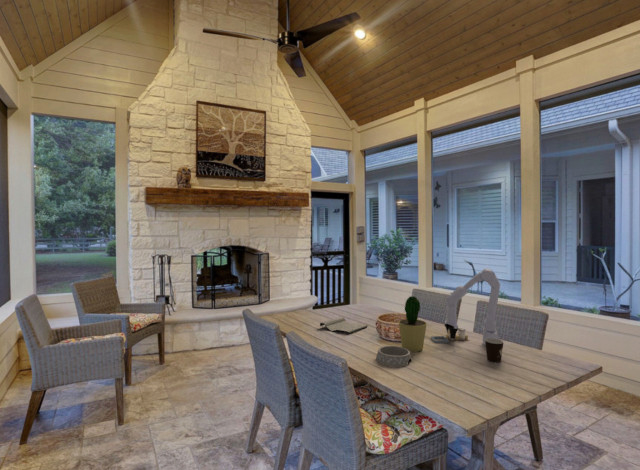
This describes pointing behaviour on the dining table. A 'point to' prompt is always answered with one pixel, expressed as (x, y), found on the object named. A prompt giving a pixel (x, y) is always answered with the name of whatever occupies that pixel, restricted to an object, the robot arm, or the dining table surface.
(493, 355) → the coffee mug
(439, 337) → the tray
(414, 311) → the potted cactus
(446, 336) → the fuse holder
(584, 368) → the dining table surface
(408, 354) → the dog bowl
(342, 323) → the mat
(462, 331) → the cylinder
